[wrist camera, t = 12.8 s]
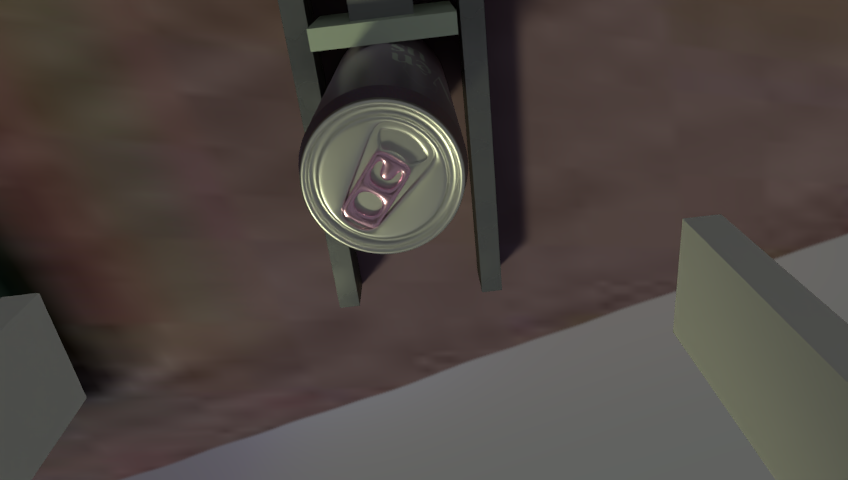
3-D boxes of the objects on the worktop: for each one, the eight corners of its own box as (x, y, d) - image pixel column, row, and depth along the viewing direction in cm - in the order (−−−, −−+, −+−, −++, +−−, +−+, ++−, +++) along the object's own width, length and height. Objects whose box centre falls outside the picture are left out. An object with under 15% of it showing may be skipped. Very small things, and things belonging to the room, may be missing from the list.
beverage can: (318, 102, 34) (263, 210, 21) (369, 5, 32) (345, 56, 19) (409, 154, 36) (413, 286, 23) (465, 65, 34) (505, 151, 20)
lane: (343, 286, 40) (334, 341, 34) (262, -128, 29) (230, -142, 24) (496, 269, 40) (510, 322, 34) (468, -154, 29) (483, -174, 24)
